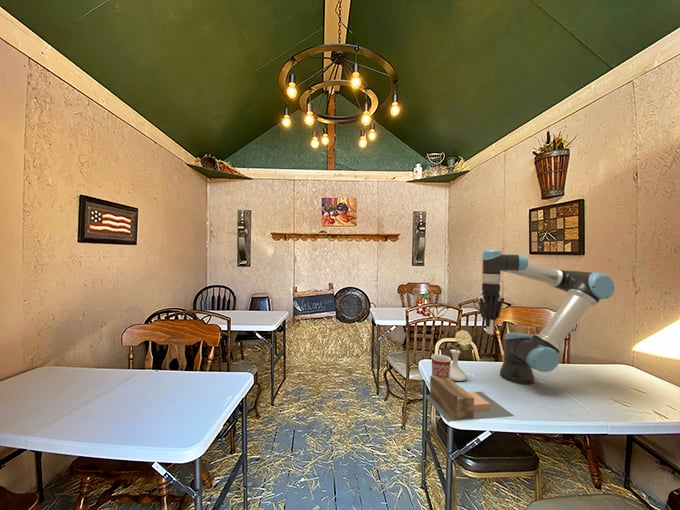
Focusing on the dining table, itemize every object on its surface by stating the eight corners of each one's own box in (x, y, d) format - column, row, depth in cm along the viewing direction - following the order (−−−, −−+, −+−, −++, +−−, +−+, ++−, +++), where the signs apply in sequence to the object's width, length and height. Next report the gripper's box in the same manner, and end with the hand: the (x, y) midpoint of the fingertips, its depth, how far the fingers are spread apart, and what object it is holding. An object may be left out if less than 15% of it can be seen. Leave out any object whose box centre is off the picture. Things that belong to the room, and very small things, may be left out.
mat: (481, 392, 132) (481, 391, 132) (514, 417, 112) (514, 416, 112) (423, 396, 127) (423, 395, 127) (448, 422, 107) (448, 421, 107)
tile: (474, 397, 126) (474, 391, 126) (489, 410, 116) (489, 403, 116) (444, 399, 123) (444, 393, 123) (457, 412, 114) (458, 406, 114)
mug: (453, 391, 132) (453, 361, 132) (432, 389, 133) (433, 360, 133) (445, 379, 145) (446, 352, 145) (427, 378, 146) (428, 351, 146)
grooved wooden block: (448, 394, 128) (448, 374, 128) (473, 417, 110) (474, 394, 110) (430, 395, 127) (430, 375, 126) (452, 419, 109) (453, 395, 109)
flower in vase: (442, 380, 143) (443, 330, 143) (443, 372, 154) (444, 325, 154) (471, 385, 138) (472, 333, 138) (470, 376, 149) (471, 328, 149)
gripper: (497, 282, 139) (496, 331, 139) (473, 282, 137) (472, 331, 137) (509, 283, 132) (508, 335, 132) (483, 283, 130) (482, 336, 130)
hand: (489, 333), depth 135 cm, fingers closed
